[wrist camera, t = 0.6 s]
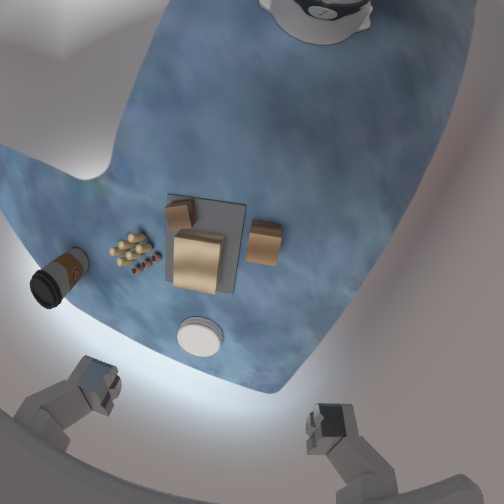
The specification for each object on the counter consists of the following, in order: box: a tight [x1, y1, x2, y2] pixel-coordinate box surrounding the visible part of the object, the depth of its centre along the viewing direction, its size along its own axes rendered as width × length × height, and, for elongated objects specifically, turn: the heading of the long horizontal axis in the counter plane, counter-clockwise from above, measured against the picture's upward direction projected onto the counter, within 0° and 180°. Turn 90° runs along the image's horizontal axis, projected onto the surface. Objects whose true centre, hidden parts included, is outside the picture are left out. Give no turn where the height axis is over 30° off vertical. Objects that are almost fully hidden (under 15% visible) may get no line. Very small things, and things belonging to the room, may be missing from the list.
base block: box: [173, 229, 224, 294], centre depth 49 cm, size 10×8×4 cm
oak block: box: [245, 220, 282, 266], centre depth 46 cm, size 5×5×6 cm
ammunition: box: [109, 233, 162, 274], centre depth 50 cm, size 5×7×8 cm
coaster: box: [177, 317, 222, 357], centre depth 59 cm, size 10×10×4 cm
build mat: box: [166, 194, 246, 294], centre depth 50 cm, size 18×14×1 cm
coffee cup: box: [30, 248, 89, 309], centre depth 47 cm, size 8×8×15 cm
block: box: [165, 198, 198, 230], centre depth 45 cm, size 4×4×4 cm
